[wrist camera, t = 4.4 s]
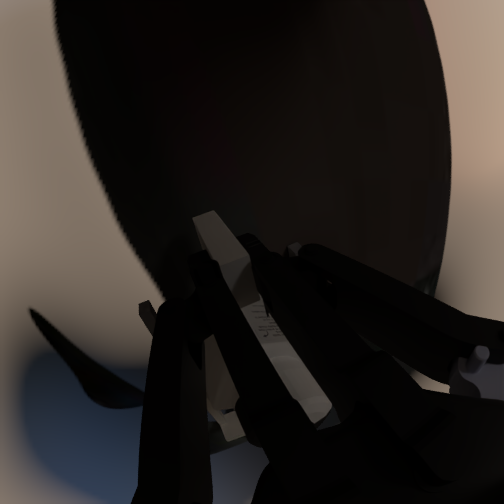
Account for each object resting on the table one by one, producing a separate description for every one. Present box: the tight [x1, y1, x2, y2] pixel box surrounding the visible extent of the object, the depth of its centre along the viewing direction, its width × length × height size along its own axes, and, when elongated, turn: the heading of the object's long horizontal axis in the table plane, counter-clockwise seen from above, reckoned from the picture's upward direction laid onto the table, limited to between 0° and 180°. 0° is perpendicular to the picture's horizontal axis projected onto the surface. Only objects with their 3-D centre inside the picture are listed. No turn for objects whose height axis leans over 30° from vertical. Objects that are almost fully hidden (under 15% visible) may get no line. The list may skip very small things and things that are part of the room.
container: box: [204, 294, 332, 447], centre depth 21 cm, size 8×8×13 cm
